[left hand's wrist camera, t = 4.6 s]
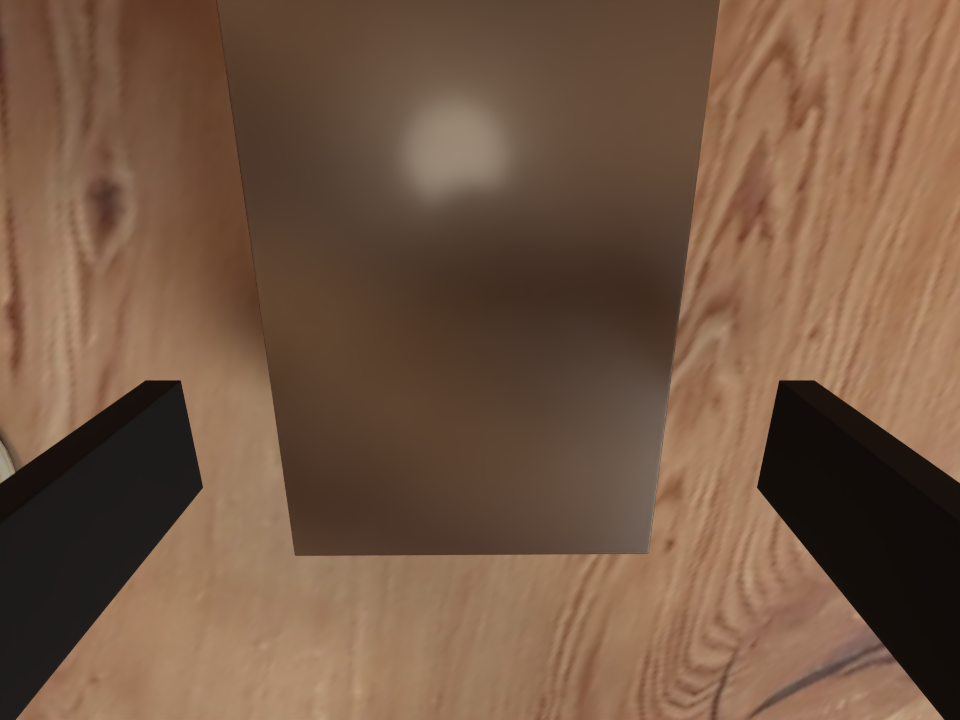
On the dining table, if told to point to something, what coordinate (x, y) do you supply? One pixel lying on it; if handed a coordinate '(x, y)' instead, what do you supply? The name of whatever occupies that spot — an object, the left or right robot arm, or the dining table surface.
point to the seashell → (5, 464)
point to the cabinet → (469, 261)
